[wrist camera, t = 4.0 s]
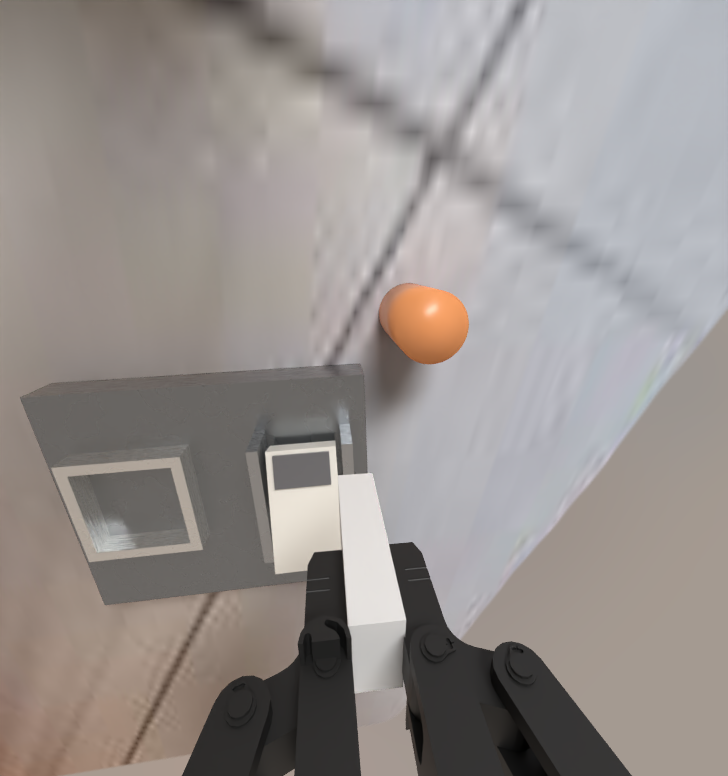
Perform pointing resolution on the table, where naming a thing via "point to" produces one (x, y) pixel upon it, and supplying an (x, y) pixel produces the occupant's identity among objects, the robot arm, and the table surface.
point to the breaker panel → (187, 470)
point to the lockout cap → (424, 322)
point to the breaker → (302, 502)
